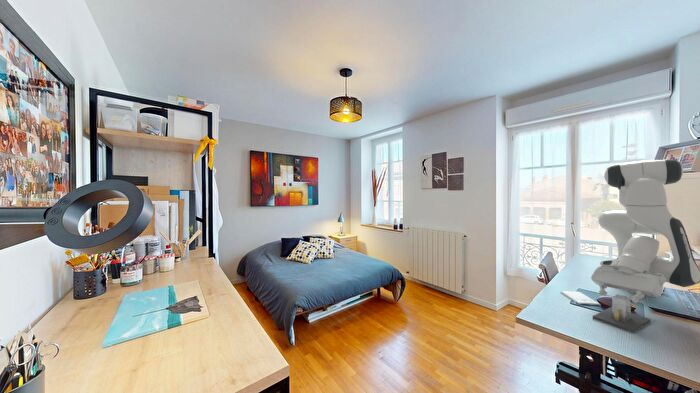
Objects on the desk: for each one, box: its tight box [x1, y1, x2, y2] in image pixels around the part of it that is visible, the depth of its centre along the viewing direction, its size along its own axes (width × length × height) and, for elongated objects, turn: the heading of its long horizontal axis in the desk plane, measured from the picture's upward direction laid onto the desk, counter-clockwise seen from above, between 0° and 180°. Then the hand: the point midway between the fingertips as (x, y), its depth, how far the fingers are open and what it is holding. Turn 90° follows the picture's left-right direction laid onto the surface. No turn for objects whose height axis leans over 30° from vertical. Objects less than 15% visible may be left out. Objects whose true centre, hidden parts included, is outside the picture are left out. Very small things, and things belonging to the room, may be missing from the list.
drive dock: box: [592, 306, 652, 334], centre depth 96 cm, size 16×11×4 cm
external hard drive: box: [560, 290, 601, 306], centre depth 115 cm, size 2×8×12 cm
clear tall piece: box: [611, 294, 632, 321], centre depth 96 cm, size 5×4×8 cm
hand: (616, 297), depth 97 cm, fingers open, 8 cm apart
